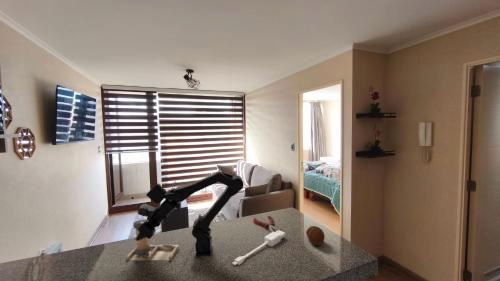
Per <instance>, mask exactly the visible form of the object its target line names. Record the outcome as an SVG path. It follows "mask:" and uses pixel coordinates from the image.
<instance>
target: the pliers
mask: <svg viewBox="0 0 500 281" xmlns="http://www.w3.org/2000/svg"><path fill="white" fill-rule="evenodd" d="M267 219H269V221H270V222H269V223H265V222H263V221H260V220H259V219H257V218H255V217H253V220H252V221H253V222H254V224H255V225H257V226H260V227H263V228H264V229H265V230H267V229H268V230H269V232H270V233H272V232H276V231H278V230H277V228H276V226H275V223H274V218H273V217H272V216H270V215H268V216H267Z"/></svg>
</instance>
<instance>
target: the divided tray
mask: <svg viewBox="0 0 500 281" xmlns="http://www.w3.org/2000/svg"><path fill="white" fill-rule="evenodd" d="M149 245H150V252H148V253H147V254H144V255H136V254H135V248H137V245H136V246H135V247H134V248H133V249H132V250H131V251H130V252H129V253H128V254H127V255H126V257H125V261H172V260H173V259H174V257H175V255H176V253H177V252H178V250H179V247H180V245H179V244H171V243H164V244H149Z"/></svg>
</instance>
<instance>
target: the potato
mask: <svg viewBox="0 0 500 281" xmlns="http://www.w3.org/2000/svg"><path fill="white" fill-rule="evenodd" d="M305 234H306V237H307V239H308V240H309V241H310V242H311V244H313V245H314V246H316V247H320V246H322V245H323V244H324V242H325V232H324V231H323V229H322V228H321V227H319V226H316V225H310V226H309V227H308V228H307V229H306V232H305Z"/></svg>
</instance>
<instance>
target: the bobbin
mask: <svg viewBox="0 0 500 281" xmlns="http://www.w3.org/2000/svg"><path fill="white" fill-rule="evenodd" d="M148 221H149V220H147V218H146V219H145V218H144V219H143V218H142V219H139V220H136V221H134V223H133V229H135V234H136V235H135V238H136V237H137V236H138V234H139V233H140V232H139V231H138V228H139V227H140V226H141V225H142V223H143V222H148ZM150 245H151V244H149V239H148V238H147V237H146V238H143V239H141V240H138V241H136V246H137V248H135V247H134V248H135V254H136V255H144V254H147V253H148V252H150Z"/></svg>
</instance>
